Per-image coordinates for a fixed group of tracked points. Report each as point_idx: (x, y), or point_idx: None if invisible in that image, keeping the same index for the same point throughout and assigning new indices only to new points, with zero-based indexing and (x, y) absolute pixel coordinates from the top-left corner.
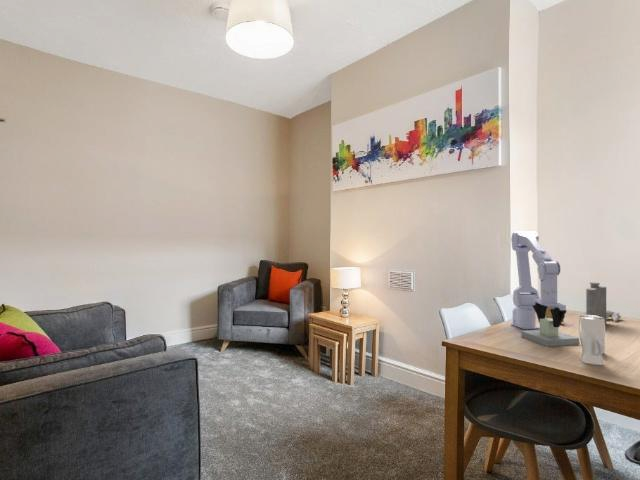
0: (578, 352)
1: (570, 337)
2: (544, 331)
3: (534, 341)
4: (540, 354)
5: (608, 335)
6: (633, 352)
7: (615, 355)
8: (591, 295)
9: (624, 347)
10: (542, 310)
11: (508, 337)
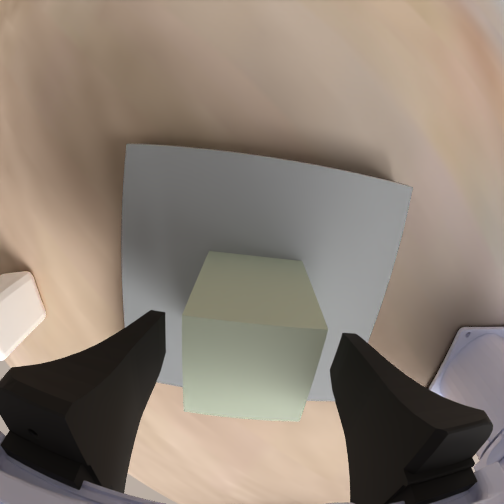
0: (31, 224)
1: None
2: (252, 266)
3: (261, 155)
4: (61, 10)
5: (230, 497)
6: None
7: None
8: None
9: None
10: (368, 451)
11: (402, 79)
